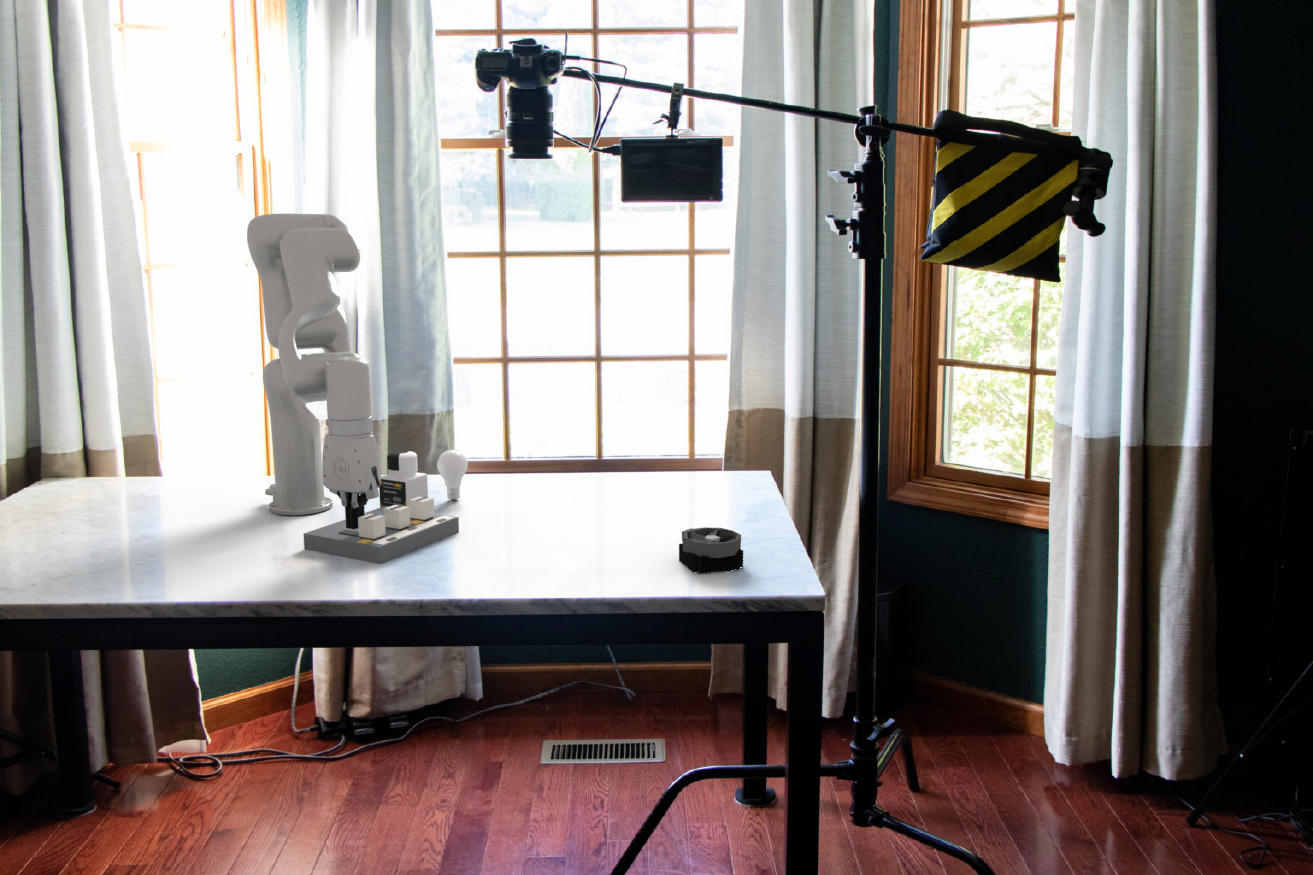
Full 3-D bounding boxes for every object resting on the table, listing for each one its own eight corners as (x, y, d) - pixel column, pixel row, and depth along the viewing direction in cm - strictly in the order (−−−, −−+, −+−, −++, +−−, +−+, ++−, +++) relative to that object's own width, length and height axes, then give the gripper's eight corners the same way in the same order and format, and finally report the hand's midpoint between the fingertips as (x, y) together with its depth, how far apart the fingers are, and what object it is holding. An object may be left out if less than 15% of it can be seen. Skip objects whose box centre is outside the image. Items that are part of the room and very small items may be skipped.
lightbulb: (465, 504, 228) (463, 453, 226) (435, 504, 228) (433, 453, 226) (471, 496, 234) (469, 447, 232) (442, 496, 234) (440, 447, 232)
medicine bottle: (379, 510, 223) (376, 453, 221) (402, 502, 229) (400, 447, 227) (406, 514, 220) (403, 457, 218) (429, 506, 226) (426, 450, 224)
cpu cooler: (749, 539, 184) (693, 544, 181) (749, 571, 185) (693, 577, 182) (727, 523, 193) (673, 528, 190) (726, 554, 195) (673, 559, 191)
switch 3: (409, 517, 205) (408, 499, 204) (420, 514, 208) (419, 495, 207) (424, 520, 204) (423, 501, 203) (434, 516, 206) (433, 497, 206)
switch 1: (359, 536, 193) (358, 517, 192) (370, 532, 196) (369, 513, 195) (374, 539, 191) (373, 519, 191) (385, 534, 194) (384, 515, 193)
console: (304, 549, 196) (303, 531, 196) (386, 520, 215) (385, 504, 215) (380, 563, 188) (380, 545, 188) (459, 532, 207) (458, 515, 207)
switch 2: (384, 526, 199) (383, 507, 198) (395, 522, 202) (394, 504, 201) (399, 529, 198) (398, 510, 197) (410, 525, 200) (409, 506, 199)
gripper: (303, 427, 191) (309, 526, 195) (367, 434, 185) (373, 537, 188) (333, 420, 198) (339, 517, 201) (397, 427, 191) (401, 527, 195)
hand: (355, 526), depth 195 cm, fingers closed
